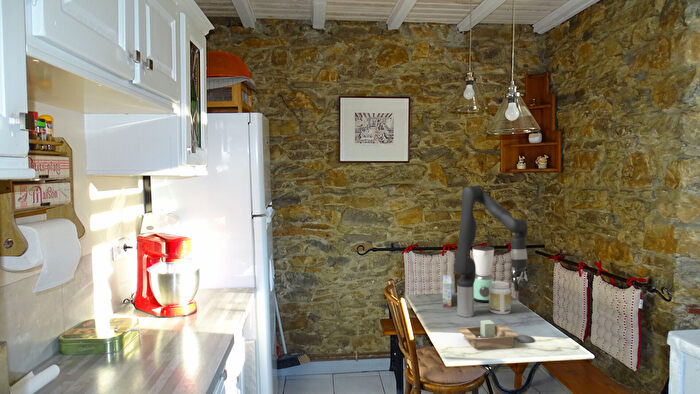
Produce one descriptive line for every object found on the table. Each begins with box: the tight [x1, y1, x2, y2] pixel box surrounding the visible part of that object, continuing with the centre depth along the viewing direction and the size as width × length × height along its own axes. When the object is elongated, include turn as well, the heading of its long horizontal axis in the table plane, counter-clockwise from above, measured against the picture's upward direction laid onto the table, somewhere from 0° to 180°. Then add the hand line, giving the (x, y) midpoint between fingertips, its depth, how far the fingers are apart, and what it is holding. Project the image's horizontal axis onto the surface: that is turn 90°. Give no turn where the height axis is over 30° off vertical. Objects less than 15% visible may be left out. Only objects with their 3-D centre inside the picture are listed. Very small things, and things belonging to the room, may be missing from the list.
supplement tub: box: [488, 280, 512, 315], centre depth 257 cm, size 12×12×17 cm
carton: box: [457, 324, 520, 351], centre depth 212 cm, size 16×25×5 cm, turn 97°
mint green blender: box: [471, 245, 495, 303], centre depth 279 cm, size 19×13×35 cm
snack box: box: [442, 275, 453, 308], centre depth 276 cm, size 21×6×15 cm, turn 168°
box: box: [479, 319, 496, 338], centre depth 212 cm, size 5×5×10 cm
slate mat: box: [513, 334, 535, 344], centre depth 214 cm, size 9×9×1 cm
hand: (520, 289), depth 221 cm, fingers open, 8 cm apart
